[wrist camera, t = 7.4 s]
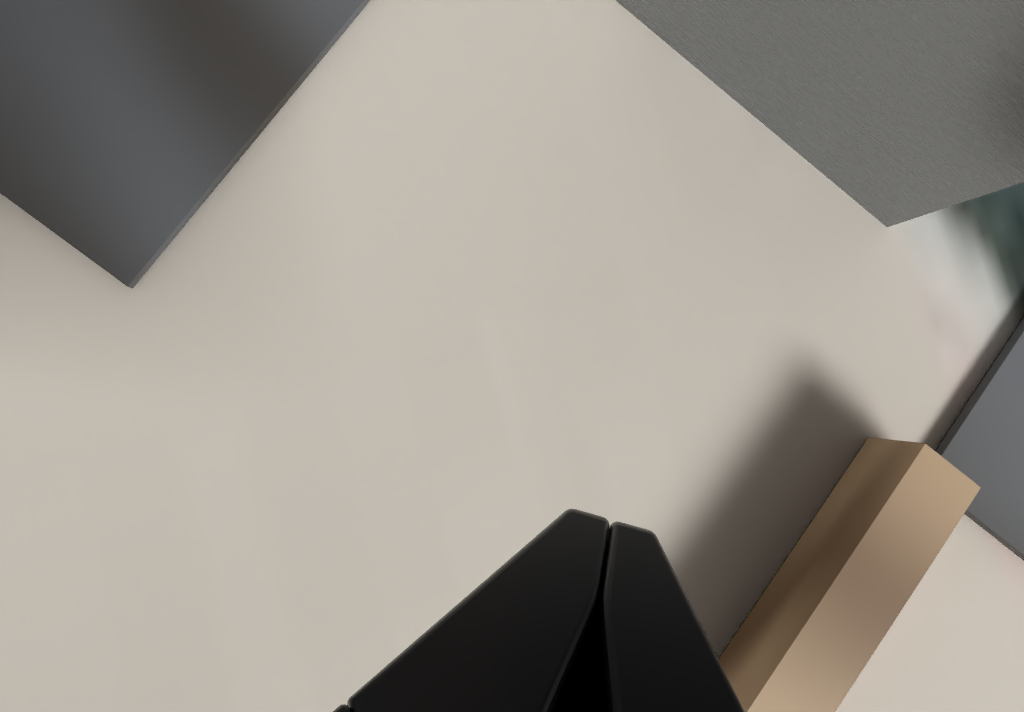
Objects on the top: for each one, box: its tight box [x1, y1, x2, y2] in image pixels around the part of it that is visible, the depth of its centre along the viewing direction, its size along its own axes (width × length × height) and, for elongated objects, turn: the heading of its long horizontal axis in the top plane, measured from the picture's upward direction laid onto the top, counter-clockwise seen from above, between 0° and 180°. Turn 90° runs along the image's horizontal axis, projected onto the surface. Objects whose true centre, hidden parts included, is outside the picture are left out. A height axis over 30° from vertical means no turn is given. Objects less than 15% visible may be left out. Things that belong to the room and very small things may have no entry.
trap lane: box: [0, 0, 1024, 712], centre depth 17 cm, size 25×34×2 cm
